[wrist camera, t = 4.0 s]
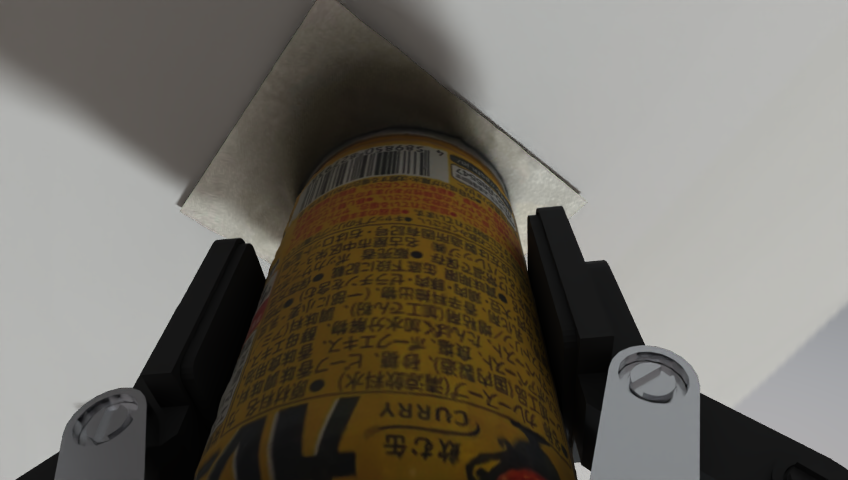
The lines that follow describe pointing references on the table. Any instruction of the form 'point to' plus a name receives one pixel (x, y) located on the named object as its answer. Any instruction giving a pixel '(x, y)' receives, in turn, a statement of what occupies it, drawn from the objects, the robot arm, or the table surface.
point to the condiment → (381, 276)
